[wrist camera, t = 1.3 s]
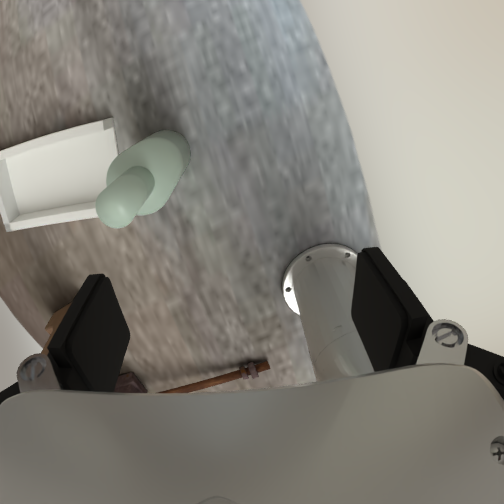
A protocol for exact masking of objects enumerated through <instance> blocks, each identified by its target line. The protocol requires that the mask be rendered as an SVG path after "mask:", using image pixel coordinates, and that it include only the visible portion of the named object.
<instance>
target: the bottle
mask: <svg viewBox="0 0 504 504" xmlns="http://www.w3.org/2000/svg"><path fill="white" fill-rule="evenodd" d="M190 156H191V152H190V147H189V144H188V142H187V141H186V139H185V138H184V137H183V136H182V135H180V134H179V133H177V132H175V131H171V130H162V131H158V132H156V133H154V134H152V135H150V136H149V137H147V138H145V139H144V140H142V141H140V142H139V143H137V144H135V145H134V146H132V147H130V148H129V149H127V150H125V151H124V152H122V153H121V154H119V155H118V156H117V157H116V158H115V159H114V160H113V161H112V163H111V164H110V166H109V169H108V171H107V177H106V185H107V187H106V188H105V189H104V190H103V191H102V192H101V193H100V194H99V195H98V197H97V199H96V204H95V207H96V212H97V215H98V217H99V219H100V220H101V221H102V222H103V223H104V224H105V225H107V226H109V227H112V228H123V227H125V226H127V225H128V224H129V223H130V222H131V221H132V220H133V218H134V217H135V216H136V215H148V214H151V213H154V212H156V211H157V210H159V209H160V208H161V207H163V206H164V204H165V203H166V202H167V200H168V199H169V197H170V195H171V193H172V192H173V190H174V188H175V186H176V185H177V183H178V181H179V179H180V178H181V176H182V174H183V173H184V171H185V169H186V168H187V166H188V164H189V161H190Z"/></svg>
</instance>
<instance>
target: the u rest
mask: <svg viewBox="0 0 504 504" xmlns="http://www.w3.org/2000/svg"><path fill="white" fill-rule="evenodd" d="M118 155H119V153H118V147H117V141H116V134H115V127H114V120H113V118H108V119H104V120H99V121H95V122H91V123H87V124H83V125H79V126H76V127H72V128H68V129H65V130H61V131H58V132H54V133H51V134H48V135H44V136H41V137H38V138H35V139H32V140H29V141H26V142H23V143H20V144H17V145H14V146H12V147H9V148H6V149H3V150H1V151H0V213H1V216H2V220H3V223H4V226H5V229H6V232H9V231H14V230H20V229H25V228H31V227H37V226H43V225H49V224H56V223H62V222H68V221H75V220H82V219H89V218H96V217H98V215H97V212H96V207H95V204H96V199H97V197H98V195H99V194H100V193H101V192H102V191H103V190H104V189H105V188H106V187H107V185H106V177H107V171H108V169H109V166H110V164H111V163H112V161H113V160H114V159H115V158H116V157H117V156H118Z"/></svg>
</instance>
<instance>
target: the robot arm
mask: <svg viewBox="0 0 504 504" xmlns="http://www.w3.org/2000/svg"><path fill="white" fill-rule="evenodd" d="M307 256H308V257H307ZM282 290H283V296H284V299H285V301H286V303H287V305H288V306H289V307H290V308H291V309H292V310H293V311H294V312H295V313H297V314H298V315H300V318H301V322H302V325H303V329H304V333H305V337H306V341H307V345H308V349H309V353H310V357H311V361H312V365H313V369H314V373H315V376H316V380H317V382H312V383H304V384H297V385H288V386H280V387H270V388H260V389H249V390H236V391H221V392H201V393H114V390H115V386H116V383H117V379H118V376H119V373H120V369H121V366H122V363H123V359H124V356H125V353H126V350H127V346H128V343H129V340H130V331H129V328H128V326H127V323H126V321H125V318H124V316H123V313H122V311H121V308H120V306H119V303H118V300H117V298H116V295H115V292H114V290H113V287H112V284H111V281H110V279H109V278H108V277H105V275H104V274H93V275H89V276H88V277H87V279H86V280H85V282H84V283H83V285H82V287H81V288H80V290H79V292H78V293H77V295H76V297H75V298H74V300H73V302H72V303H71V305H70V307H69V308H68V310H67V312H66V314H65V315H64V317H63V319H62V321H61V323H60V324H59V326H58V328H57V330H56V332H55V333H54V335H53V337H52V339H51V341H50V343H49V345H48V347H47V349H48V350H49V352H48V354H47V356H46V355H45V354H40V353H39V354H34V355H31V356H29V357H28V358H26V359H25V360H24V361H23V362H22V363H21V364H20V366H19V367H18V370H17V380H18V382H16V383H15V384H13V385H11V386H10V387H8V388H7V389H5V390H3V391H2V392H0V504H504V357H503V356H500V355H497V354H494V353H492V352H489V351H486V350H484V349H481V348H478V347H476V346H473V345H470V344H468V335H467V333H466V331H465V329H464V328H463V327H462V326H461V325H459V324H458V323H456V322H453V321H451V320H445V319H444V320H437V321H433V320H432V318H431V317H430V315H429V314H428V313H427V311H426V310H425V308H424V307H423V305H422V304H421V302H420V301H419V300H418V298H417V297H416V295H415V294H414V293H413V291H412V290H411V288H410V287H409V286H408V284H407V283H406V282H405V281H404V280H403V279H402V278H401V276H400V275H399V274H398V272H397V271H396V270H395V268H394V267H393V266H392V264H391V263H390V262H389V260H388V259H387V258H386V257H385V255H384V254H383V253H382V251H381V250H380V249H379V248H378V247H372V248H363V249H362V252H361V253H358V254H357V253H356V252H355V251H354V250H352V249H350V248H348V247H346V246H343V245H340V244H322V245H318V246H315V247H312V248H310V249H308V250H306V251H304V252H303V253H301V254H300V255H298V256H297V257H296V258H295V259H294V260H293V261H292V262H291V264H290V265H289V266H288V268H287V270H286V272H285V274H284V277H283V281H282Z"/></svg>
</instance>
